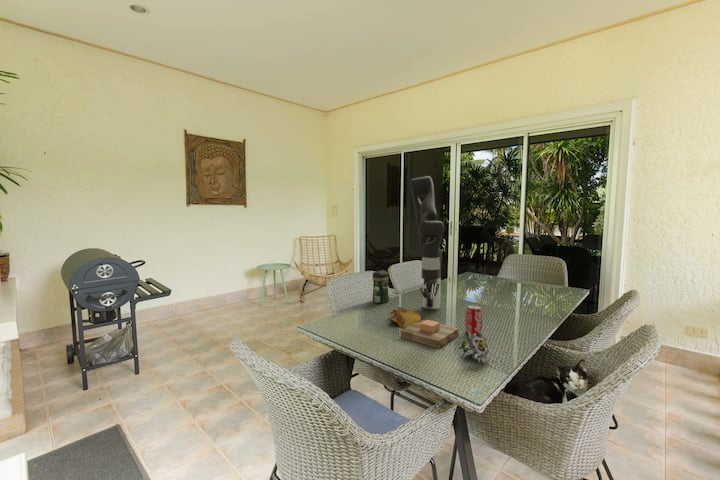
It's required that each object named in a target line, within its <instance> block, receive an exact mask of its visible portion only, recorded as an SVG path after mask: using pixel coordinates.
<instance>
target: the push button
mask: <svg viewBox="0 0 720 480" xmlns="http://www.w3.org/2000/svg"><path fill="white" fill-rule="evenodd" d="M439 326H440V322H439V321H434V320H430V319H426V320H425V321H424V322H422V323H420V330H422V331H425V332H429V333H435V332H437V331H438V330H439Z"/></svg>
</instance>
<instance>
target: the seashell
mask: <svg viewBox="0 0 720 480" xmlns="http://www.w3.org/2000/svg"><path fill="white" fill-rule="evenodd" d="M389 314H390V315H388V317H389V320H390V322H392V323H393V324H397V325H398V326H399V327H400V328H402V329H405V328H407V327H409V326H411V325H413V324H415V323H417V322H419V321H421V320H422V319H421V318H422V316H421V314H420V313H418V312H417V311H414V310H413V309H407V308H405V307H402V306H398V307H397V309H393V310H392V311H391V312H389Z"/></svg>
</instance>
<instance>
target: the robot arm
mask: <svg viewBox="0 0 720 480" xmlns="http://www.w3.org/2000/svg"><path fill="white" fill-rule="evenodd" d="M409 189H410V193H411V197H412V198H411V199H412V203H413V208H414V213H415V223H416V227H417V233H418V239H419V247H420V250H419V253H420V260H421V278H422V279H423V287H420V289H419V290H420V292H421V294H422V297H423V299H422V307H423V308H424V309H427V310H431V311H432V310H439V309H440V308H441V278H442V277H441V274H442V260H443V253H442V249H440V247H441V243H442V240H443V239H442V238H443V236H444V233H445V224H444V223H443V222H442V221H441V220H437V219H438V214H437V210H436V209H437V208H436V203H435V200H436V199H435V187H434V181H433V178H432V177H431V176H430V175H429V176H428V175H425V176H421V177H415V178H411V179H410V181H409ZM424 196H425V197H424ZM419 197H424V198H423V200H422V201H421V200H420V198H419ZM432 238H434V239H433V240H432V241H430V239H432Z"/></svg>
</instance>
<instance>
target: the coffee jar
mask: <svg viewBox="0 0 720 480" xmlns="http://www.w3.org/2000/svg"><path fill="white" fill-rule="evenodd" d="M372 280H373V281H372V282H373V283H372V285H373V287H372V288H373V289H372V302H373V303H374V304H383V303H386V302H388V301H389V300H390V299H389V272H388V270H383V269H382V270H378V271H373V272H372Z"/></svg>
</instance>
